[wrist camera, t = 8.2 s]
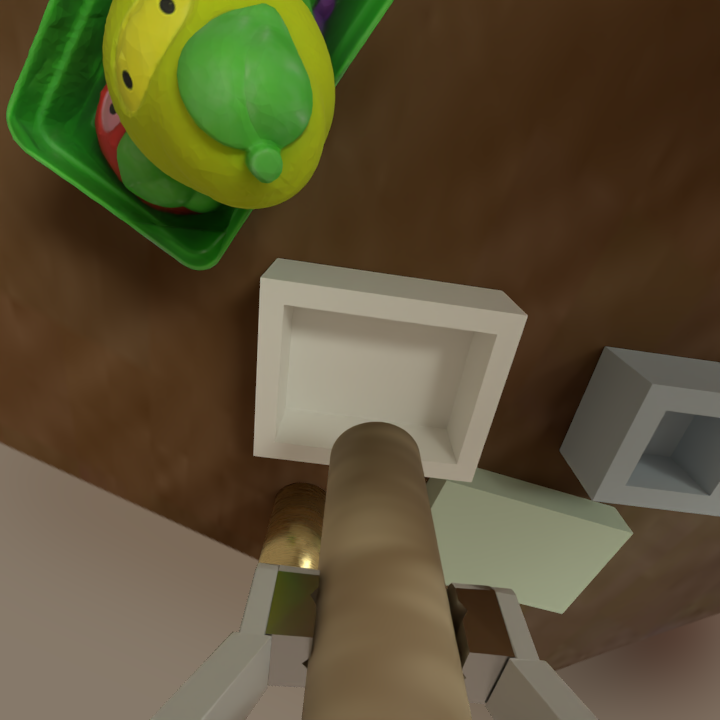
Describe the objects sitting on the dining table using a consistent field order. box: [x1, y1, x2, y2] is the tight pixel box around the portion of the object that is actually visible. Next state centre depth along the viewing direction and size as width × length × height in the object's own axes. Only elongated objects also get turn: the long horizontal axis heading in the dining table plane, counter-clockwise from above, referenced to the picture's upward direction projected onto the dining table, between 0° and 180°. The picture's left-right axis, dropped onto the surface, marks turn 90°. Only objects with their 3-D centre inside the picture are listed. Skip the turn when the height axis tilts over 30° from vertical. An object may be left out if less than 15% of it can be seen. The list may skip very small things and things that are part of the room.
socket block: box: [559, 346, 720, 516], centre depth 21 cm, size 7×7×4 cm
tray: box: [253, 258, 528, 482], centre depth 20 cm, size 11×9×4 cm
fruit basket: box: [6, 0, 394, 270], centre depth 12 cm, size 11×9×11 cm
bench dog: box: [258, 483, 326, 570], centre depth 24 cm, size 4×4×6 cm
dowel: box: [302, 422, 472, 720], centre depth 10 cm, size 3×3×10 cm
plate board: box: [426, 468, 633, 614], centre depth 27 cm, size 12×8×2 cm, turn 71°
